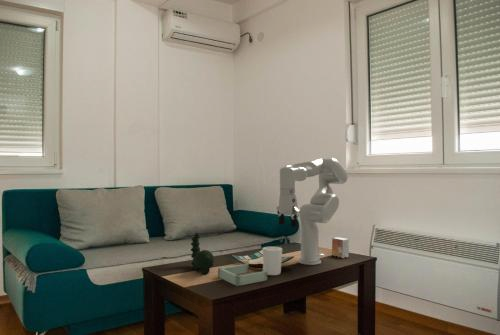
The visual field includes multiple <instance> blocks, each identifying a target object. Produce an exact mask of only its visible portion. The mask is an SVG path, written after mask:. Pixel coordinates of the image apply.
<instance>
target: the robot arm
mask: <svg viewBox="0 0 500 335" xmlns="http://www.w3.org/2000/svg"><path fill="white" fill-rule="evenodd" d="M315 176H318V188H317V190H316V192H314V194H313V195H312V197H311V198H310V202H309V203H305V204H303V205H301V206H300V207H299V209H298V199H297V195H296V183H295V182H303V181H304V180H306V179H307V178H312V177H315ZM347 181H348V172H347V171H346V169H345V168H344V166H343V165H342V164H341V162H340V161H338V160H337V159H336V158H334V157H320V158H316V159H312V160H309V161H303V162H299V163H295V164H290V165H289V164H288V165H285V166H284V167H280V169H279V198H278V199H279V200H278V206H277V207H275V208H276V211H277V212H276V213H277V215H278V217H279V218H278V225H280V226H282V225H285V222H286V221H285V219H286V218H285V215H286V216H287V215H288V216H290V217H291V219H290V227H291V228H297V226H298V224H297V223H298V221H297V220H298V218H299V220H300V221H299V222H300V258H298V259H297V262H298V263H299V264H300V265H301V264H302V265H306V266H307V265H309V266H314V265H321V263H322V260H321V258H324V257H325V253H319V234H320V233H319V232H320V231H319V227H318V225H317V224H327V223H328V222H330V221H331V219H332V218H333V216H334V215H335V213H336V212H337V211H338V208H339V205H340V199H339V196H338V195H336V194H335V193H334V192H333V189H332V188H331V186H330V185H333V184H334V185H343V184H345V183H346V182H347Z"/></svg>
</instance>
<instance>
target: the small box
mask: <svg viewBox="0 0 500 335" xmlns="http://www.w3.org/2000/svg"><path fill="white" fill-rule="evenodd" d="M331 239H332V240H331V242H332V243H331V244H332V246H331V256H332V255H333V257H336V256H337V258H340V257H341V259H345V257H346V258H349V257H350V256H349V248H350V246H349V245H350V244H349V243H350V242H349V240H350V239H349V238H344V237H340V236H339V237H337V236H336V237H332V238H331Z"/></svg>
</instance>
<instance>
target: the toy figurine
mask: <svg viewBox="0 0 500 335" xmlns="http://www.w3.org/2000/svg"><path fill="white" fill-rule="evenodd" d="M200 237H201V235H200V232H195V233H194V235H193V237H191V241H192V242H191V243H190V245H191V246H192V247H191V248H190V251H191V252H192V253H191V255H190V256H191V258H192V262H191V265H192V269H194V271H199V270H200V273H201V274H202V275H207V274H209V273H210V271H211V270H210V269H211V268H212V267H213V266H214V263H215V257H214V254H213V253H212V252H211V251H209V250H207V249H203V250H201V248H200Z"/></svg>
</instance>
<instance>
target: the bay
mask: <svg viewBox="0 0 500 335" xmlns="http://www.w3.org/2000/svg"><path fill="white" fill-rule="evenodd" d="M217 276H218V278H220V279H222V280H224V281H225V282H228V283H230V284H231V285H234V286H236V287H240V286H244V285H249V284H250V285H251V284H254V283H260V282H265V281H268V275H267V267H266V266H265V267H263V266H262V271H255V272H249V259H244V263H243V264H237V265H231V266H224V267H223V266H222V267H218V268H217Z"/></svg>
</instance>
